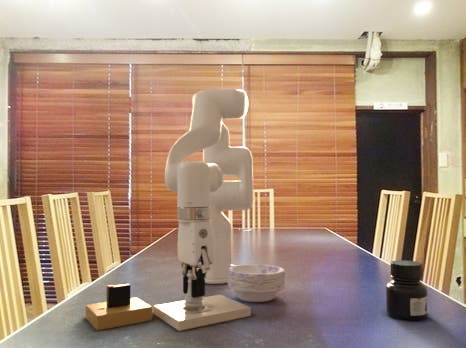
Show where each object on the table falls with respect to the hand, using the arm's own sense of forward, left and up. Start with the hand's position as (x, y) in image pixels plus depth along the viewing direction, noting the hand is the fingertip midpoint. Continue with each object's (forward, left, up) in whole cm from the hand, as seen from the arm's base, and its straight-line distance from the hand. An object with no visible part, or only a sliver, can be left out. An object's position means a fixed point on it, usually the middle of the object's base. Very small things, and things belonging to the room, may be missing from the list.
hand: (193, 293), depth 99 cm
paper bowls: (-21, -5, -5) cm, 22 cm away
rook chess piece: (0, 0, -3) cm, 3 cm away
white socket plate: (-2, 0, -5) cm, 6 cm away
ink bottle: (-41, +27, -5) cm, 49 cm away
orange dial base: (+15, -8, -5) cm, 18 cm away
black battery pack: (+15, -8, -2) cm, 17 cm away
